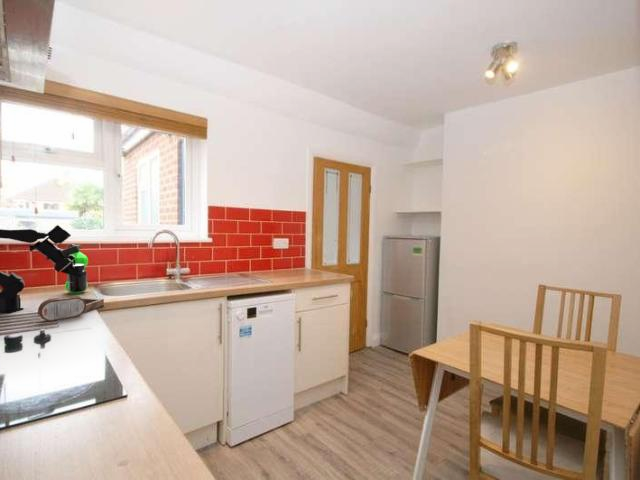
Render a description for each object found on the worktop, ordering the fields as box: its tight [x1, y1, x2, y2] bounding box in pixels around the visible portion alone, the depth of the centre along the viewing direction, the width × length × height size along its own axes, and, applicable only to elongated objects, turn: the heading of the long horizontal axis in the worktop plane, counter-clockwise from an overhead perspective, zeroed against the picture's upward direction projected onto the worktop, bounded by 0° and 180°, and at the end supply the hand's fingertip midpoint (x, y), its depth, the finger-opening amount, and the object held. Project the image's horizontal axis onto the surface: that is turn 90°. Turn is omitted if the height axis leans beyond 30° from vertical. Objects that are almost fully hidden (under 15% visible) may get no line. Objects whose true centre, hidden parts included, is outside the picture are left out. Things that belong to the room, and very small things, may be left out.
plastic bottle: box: [64, 244, 89, 295], centre depth 174 cm, size 10×10×25 cm
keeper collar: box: [81, 297, 105, 314], centre depth 145 cm, size 12×12×3 cm
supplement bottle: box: [69, 264, 88, 293], centre depth 152 cm, size 7×7×12 cm
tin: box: [37, 295, 86, 322], centre depth 130 cm, size 15×3×8 cm, turn 141°
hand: (81, 275), depth 152 cm, fingers closed on supplement bottle, 7 cm apart
